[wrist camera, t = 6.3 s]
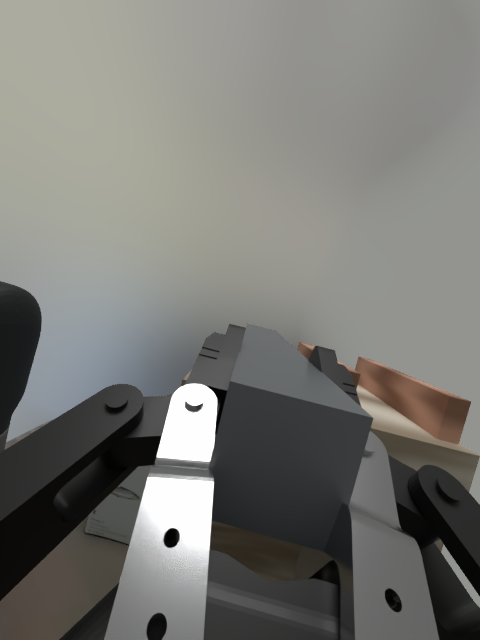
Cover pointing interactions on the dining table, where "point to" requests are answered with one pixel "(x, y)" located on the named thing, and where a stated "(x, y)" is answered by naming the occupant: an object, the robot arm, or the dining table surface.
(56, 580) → the dining table surface
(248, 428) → the bar
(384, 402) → the wooden open box
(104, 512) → the supplement box
